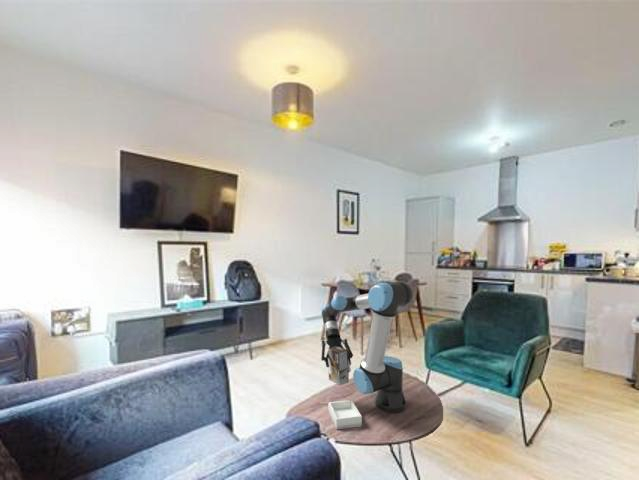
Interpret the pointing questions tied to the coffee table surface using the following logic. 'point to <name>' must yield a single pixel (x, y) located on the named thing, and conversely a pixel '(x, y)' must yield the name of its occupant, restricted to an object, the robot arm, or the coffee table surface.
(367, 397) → the coffee table surface
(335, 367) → the coffee box
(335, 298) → the robot arm
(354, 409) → the box
